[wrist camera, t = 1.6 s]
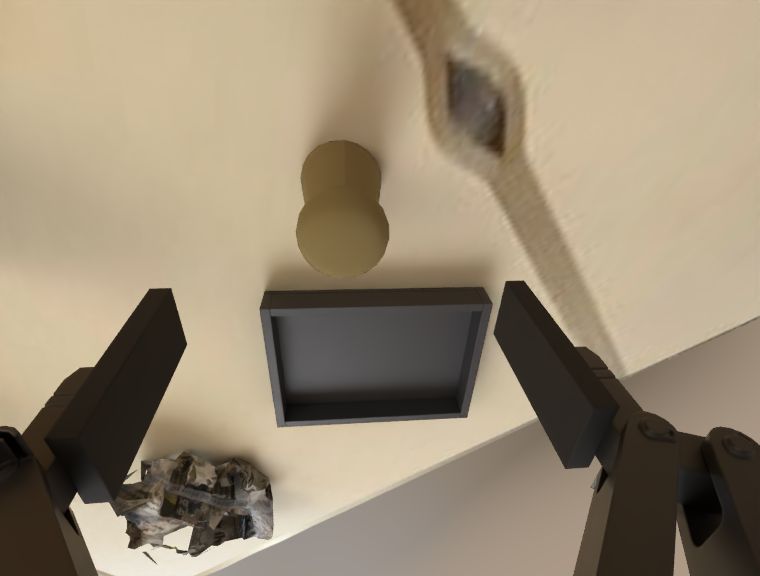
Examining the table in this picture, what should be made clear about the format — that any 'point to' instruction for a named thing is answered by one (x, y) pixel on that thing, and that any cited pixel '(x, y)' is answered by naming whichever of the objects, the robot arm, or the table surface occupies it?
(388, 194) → the table surface
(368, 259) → the tan pawn
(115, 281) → the table surface
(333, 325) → the dark grey shallow tray
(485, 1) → the table surface
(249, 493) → the crumpled newspaper
